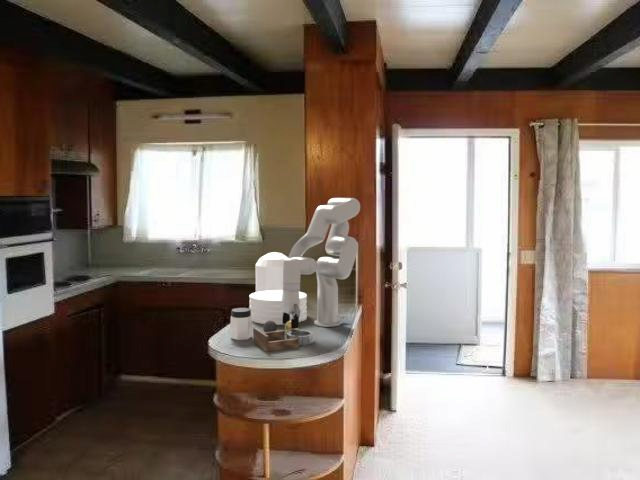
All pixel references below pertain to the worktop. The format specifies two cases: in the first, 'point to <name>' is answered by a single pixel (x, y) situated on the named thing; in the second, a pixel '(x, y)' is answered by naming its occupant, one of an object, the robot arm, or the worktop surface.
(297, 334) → the steel race
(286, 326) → the brass ball
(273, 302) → the plate stack
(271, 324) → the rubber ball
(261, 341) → the walnut housing
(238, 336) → the jar
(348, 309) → the worktop surface
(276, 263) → the container
